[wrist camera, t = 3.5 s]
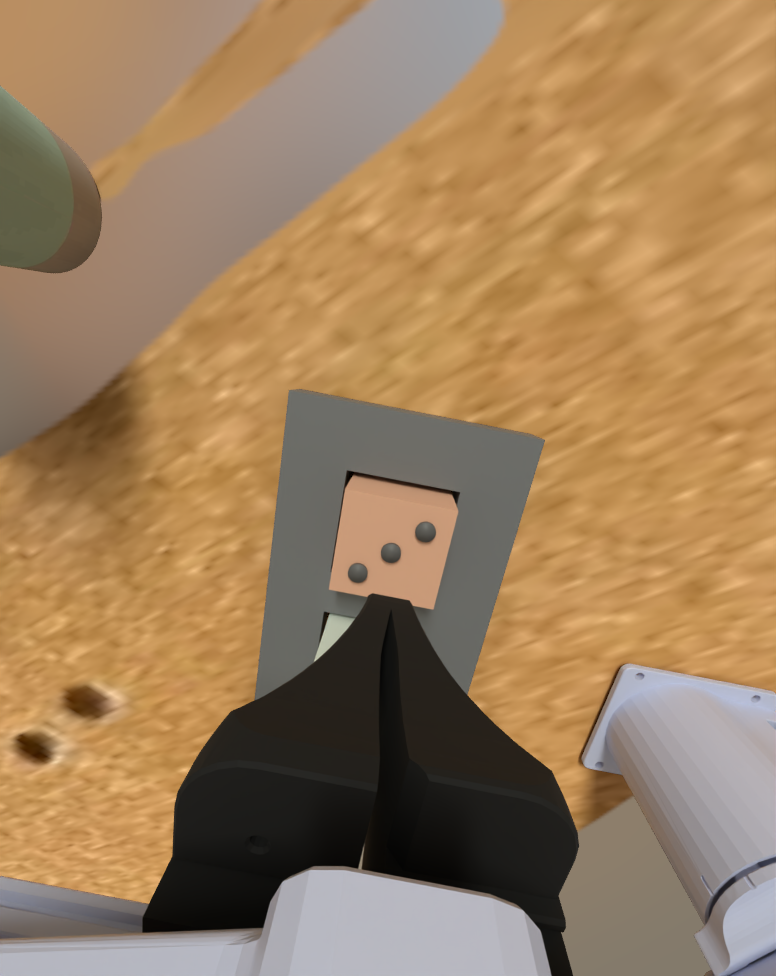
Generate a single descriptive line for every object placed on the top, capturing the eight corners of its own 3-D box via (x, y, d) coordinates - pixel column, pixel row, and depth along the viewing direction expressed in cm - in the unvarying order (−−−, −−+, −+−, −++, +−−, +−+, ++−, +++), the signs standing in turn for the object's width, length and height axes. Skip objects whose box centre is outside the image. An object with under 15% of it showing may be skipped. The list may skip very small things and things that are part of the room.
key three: (448, 486, 20) (459, 512, 16) (428, 569, 22) (433, 612, 18) (356, 468, 20) (344, 490, 16) (342, 552, 22) (327, 591, 18)
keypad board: (531, 434, 19) (545, 440, 18) (418, 818, 27) (419, 852, 25) (300, 389, 19) (289, 390, 18) (253, 787, 27) (241, 818, 25)
